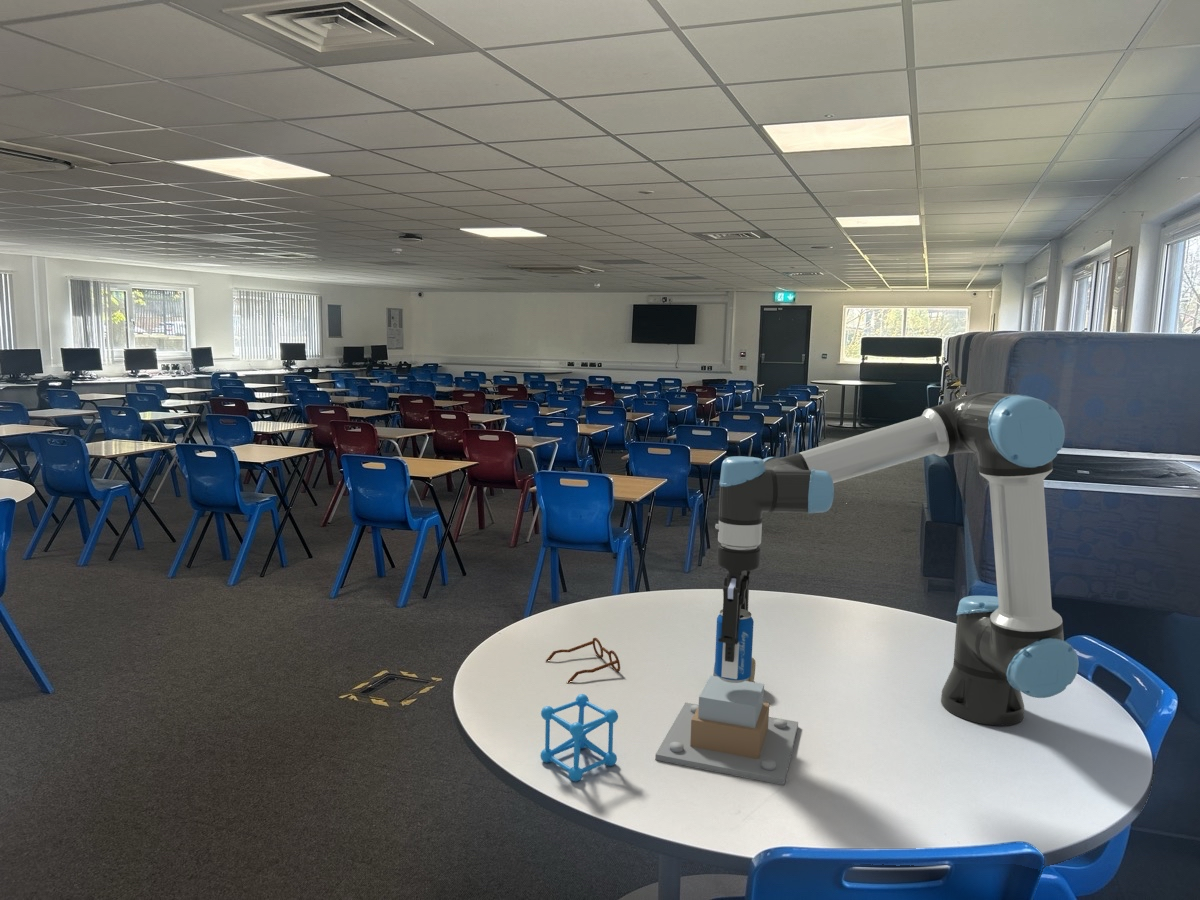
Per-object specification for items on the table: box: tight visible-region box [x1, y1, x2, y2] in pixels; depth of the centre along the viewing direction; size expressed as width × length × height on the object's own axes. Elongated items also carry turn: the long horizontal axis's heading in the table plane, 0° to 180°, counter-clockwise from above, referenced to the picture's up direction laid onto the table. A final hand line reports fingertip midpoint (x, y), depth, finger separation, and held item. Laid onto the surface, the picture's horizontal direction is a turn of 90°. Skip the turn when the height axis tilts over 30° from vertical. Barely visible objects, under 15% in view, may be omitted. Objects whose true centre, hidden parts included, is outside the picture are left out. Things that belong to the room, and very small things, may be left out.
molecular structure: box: [539, 693, 619, 782], centre depth 137 cm, size 10×10×10 cm
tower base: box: [655, 675, 799, 786], centre depth 145 cm, size 22×22×10 cm
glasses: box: [545, 637, 621, 682], centre depth 178 cm, size 13×13×5 cm
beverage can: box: [714, 608, 754, 683], centre depth 143 cm, size 6×6×12 cm
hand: (733, 669), depth 144 cm, fingers closed on beverage can, 6 cm apart
